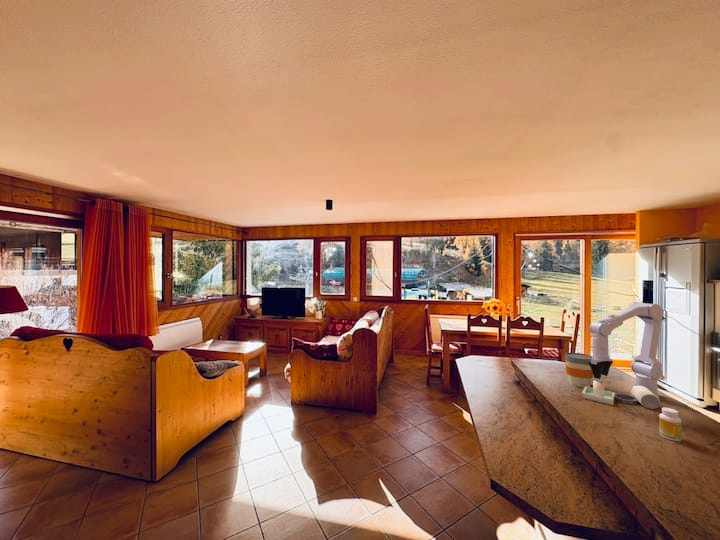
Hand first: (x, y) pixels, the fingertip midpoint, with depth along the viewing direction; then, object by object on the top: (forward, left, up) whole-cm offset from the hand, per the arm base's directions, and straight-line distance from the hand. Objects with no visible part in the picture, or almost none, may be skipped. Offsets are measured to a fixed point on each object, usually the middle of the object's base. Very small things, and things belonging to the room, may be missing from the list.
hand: (600, 376), depth 135 cm
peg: (+1, -1, -9) cm, 9 cm away
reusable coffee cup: (-13, -10, -10) cm, 19 cm away
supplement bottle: (+24, +21, -10) cm, 34 cm away
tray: (+1, -1, -10) cm, 10 cm away
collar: (-4, +8, -10) cm, 13 cm away
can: (0, +16, -7) cm, 18 cm away
